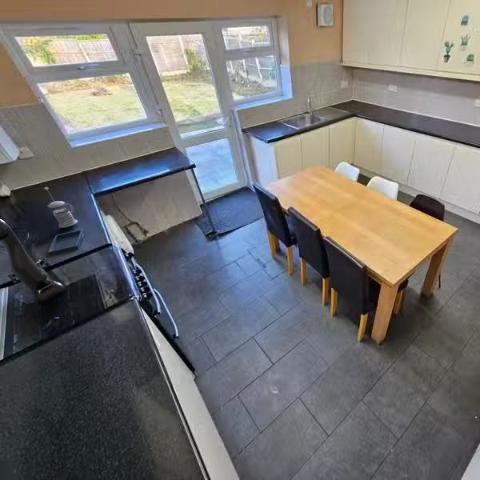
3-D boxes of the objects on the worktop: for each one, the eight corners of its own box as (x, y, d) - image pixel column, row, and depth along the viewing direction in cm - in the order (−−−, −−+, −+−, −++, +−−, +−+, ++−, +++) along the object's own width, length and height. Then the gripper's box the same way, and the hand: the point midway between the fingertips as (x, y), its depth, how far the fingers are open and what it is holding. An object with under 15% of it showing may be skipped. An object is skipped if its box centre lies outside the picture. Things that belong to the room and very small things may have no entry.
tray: (79, 248, 155) (76, 245, 153) (50, 256, 150) (47, 252, 149) (84, 232, 167) (82, 229, 166) (58, 238, 163) (55, 235, 161)
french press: (54, 226, 172) (30, 189, 158) (73, 217, 181) (52, 182, 167) (65, 228, 169) (41, 191, 155) (84, 219, 178) (63, 184, 164)
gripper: (50, 263, 125) (38, 250, 132) (10, 282, 116) (0, 267, 123) (60, 274, 130) (48, 261, 137) (23, 293, 121) (12, 278, 128)
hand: (25, 264), depth 130 cm, fingers open, 8 cm apart
